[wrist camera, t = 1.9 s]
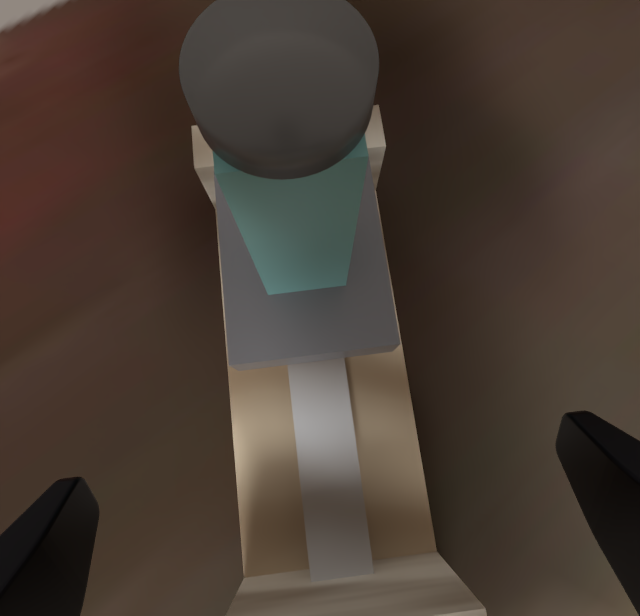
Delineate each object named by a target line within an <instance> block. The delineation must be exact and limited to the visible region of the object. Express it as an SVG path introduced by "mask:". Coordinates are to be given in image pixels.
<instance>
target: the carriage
mask: <svg viewBox="0 0 640 616" xmlns="http://www.w3.org/2000/svg"><path fill="white" fill-rule="evenodd" d="M378 73H379V54H378V48H377V44H376V40H375V38H374V35H373V33H372V31H371V28H370V27H369V25H368V24H367V22H366V20H365V19H364V18H363V17H362V15H361V14H360V13H359V12H358V11H357V10H356V9H355V8H354V7H353V6H352V5H351V4H350V3H349V2H347V1H346V0H216V1H215V2H213V3H212V4H211V5H210V6H209V7H208V8H206V9H205V10H204V11H203V12H202V13H201V14H200V16H199V17H198V18H197V19H196V20H195V22H194V23H193V25H192V26H191V28H190V29H189V31H188V33H187V35H186V37H185V39H184V42H183V45H182V48H181V53H180V59H179V75H180V83H181V86H182V89H183V93H184V95H185V98H186V100H187V102H188V105H189V107H190V109H191V112H192V114H193V116H194V119H195V121H196V123H197V126H198V128H199V130H200V132H201V134H202V136H203V138H204V140H205V141H206V143H207V144H208V146H209V147H210V148H211V149H212V150H213V161H214V183H215V195H216V208H217V221H218V233H219V246H220V259H221V272H222V284H223V297H224V310H225V323H226V335H227V348H228V361H229V366H230V367H232V368H234V369H236V370H238V371H243V370H251V369H259V368H267V367H275V366H283V365H290V364H298V363H306V362H314V361H322V360H330V359H338V358H346V357H354V356H362V355H370V354H378V353H386V352H393V351H394V350H395V349H396V348H397V347H398V346H399V345H400V338H399V332H398V326H397V320H396V314H395V308H394V302H393V296H392V290H391V284H390V278H389V273H388V267H387V261H386V255H385V249H384V243H383V237H382V231H381V225H380V219H379V213H378V207H377V201H376V195H375V189H374V184H373V178H372V172H371V166H370V160H369V154H368V150H367V144H366V138H365V132H366V130H367V128H368V125H369V122H370V119H371V115H372V110H373V104H374V98H375V92H376V85H377V79H378Z"/></svg>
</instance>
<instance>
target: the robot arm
mask: <svg viewBox="0 0 640 616" xmlns="http://www.w3.org/2000/svg"><path fill="white" fill-rule="evenodd" d="M556 451H557V455H558V457H559V460H560V462H561V464H562V466H563V469H564V471H565V473H566V475H567V478H568V480H569V482H570V484H571V487H572V489H573V491H574V493H575V496H576V498H577V500H578V502H579V505H580V507H581V509H582V511H583V514H584V516H585V518H586V520H587V522H588V525H589V527H590V529H591V531H592V533H593V535H594V537H595V538H596V540H597V542H598V544H599V546H600V548H601V549H602V551H603V553H604V555H605V556H606V558H607V560H608V562H609V563H610V565H611V567H612V569H613V570H614V572H615V574H616V576H617V578H618V579H619V581H620V583H621V585H622V586H623V588H624V590H625V592H626V593H627V595H628V597H629V599H630V600H631V602H632V604H633V606H634V607H635V609H636V611H637V613H638V614H639V616H640V441H639V440H637V439H635V438H634V437H632V436H630V435H629V434H627V433H625V432H624V431H622V430H620V429H618V428H617V427H615V426H613V425H612V424H610V423H608V422H607V421H605V420H603V419H601V418H600V417H598V416H596V415H595V414H593V413H591V412H589V411H576V412H568V413H565V414H564V415H563V417H562V420H561V424H560V427H559V431H558V435H557V439H556ZM98 520H99V505H98V502H97V500H96V499H95V497H94V495H93V493H92V491H91V490H90V488H89V486H88V484H87V483H86V481H85V479H83V478H82V477H72V478H64V479H60V480H58V481H56V482H55V483H53V484H52V485H51V486H50V487H49V488H48V489H47V490H46V491H45V492H44V493H43V494H42V495H41V496H40V497H39V498H38V499H37V500H36V501H35V502H34V503H33V504H32V505H31V506H30V507H29V508H28V509H27V510H26V511H25V512H24V513H23V514H22V515H21V516H20V517H19V518H18V519H17V520H15V521H14V522H13V523H12V524H11V525H10V526H9V527H8V528H7V529H6V530H5V531H4V532H3V533H2V534H1V535H0V616H80V614H81V610H82V606H83V602H84V597H85V592H86V587H87V582H88V576H89V570H90V565H91V559H92V554H93V548H94V542H95V537H96V531H97V526H98Z"/></svg>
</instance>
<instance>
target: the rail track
mask: <svg viewBox="0 0 640 616" xmlns="http://www.w3.org/2000/svg"><path fill="white" fill-rule="evenodd" d="M191 127H192V142H193V156H194V169H195V171H196V173H197V175H198V176H199V178H200V180H201V182H202V184H203V186H204V188H205V190H206V192H207V194H208V196H209V198H210V200H211V202H212V204H213V206H214V208H215V211H216V224H217V237H218V250H219V262H220V275H221V288H222V301H223V314H224V327H225V339H226V352H227V365H228V378H229V391H230V404H231V416H232V429H233V442H234V455H235V468H236V481H237V494H238V506H239V519H240V532H241V545H242V558H243V571H244V579H243V581H242V583H241V585H240V587H239V589H238V591H237V593H236V595H235V597H234V599H233V601H232V603H231V605H230V608H229V610H228V612H227V614H226V616H487V613H486V608H485V607H484V606H483V605H482V604H481V602H480V601H479V600H478V599H477V598H476V597H475V595H474V594H473V593H472V592H471V591H470V590H469V588H468V587H467V586H466V585H465V584H464V583H463V581H462V580H461V579H460V578H459V577H458V576H457V574H456V573H455V572H454V571H453V570H452V569H451V567H450V566H449V565H448V564H447V563H446V562H445V560H444V559H443V558H442V557H441V556H440V555H439V553H438V552H437V549H436V543H435V537H434V531H433V525H432V519H431V514H430V508H429V502H428V496H427V490H426V484H425V478H424V472H423V466H422V460H421V454H420V449H419V443H418V437H417V431H416V425H415V419H414V413H413V407H412V401H411V395H410V389H409V384H408V378H407V372H406V366H405V360H404V354H403V348H402V342H401V336H400V330H399V324H398V319H397V313H396V307H395V301H394V295H393V289H392V283H391V277H390V271H389V265H388V259H387V254H386V248H385V242H384V236H383V230H382V224H381V218H380V212H379V206H378V200H377V194H376V187H377V183H378V179H379V175H380V170H381V166H382V162H383V157H384V153H385V149H386V143H385V137H384V132H383V126H382V120H381V115H380V109H379V105H373V110H372V115H371V119H370V122H369V125H368V128H367V130H366V132H365V138H366V144H367V150H368V154H369V160H370V166H371V172H372V178H373V184H374V189H375V195H376V201H377V207H378V213H379V219H380V225H381V231H382V237H383V243H384V249H385V255H386V261H387V267H388V273H389V278H390V284H391V290H392V296H393V302H394V308H395V314H396V320H397V326H398V332H399V338H400V345H399V346H398V347H397V348H396V349H395V350H394V351H393V352H386V353H378V354H370V355H362V356H354V357H346V358H338V359H330V360H322V361H314V362H306V363H298V364H290V365H283V366H275V367H267V368H259V369H251V370H243V371H238V370H236V369H234V368H232V367H230V366H229V361H228V348H227V335H226V323H225V310H224V297H223V284H222V272H221V259H220V246H219V233H218V221H217V208H216V195H215V183H214V161H213V150H212V149H211V148H210V147H209V146H208V144H207V143H206V141H205V140H204V138H203V136H202V134H201V132H200V130H199V128H198V126H197V125H196V126H191Z"/></svg>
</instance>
